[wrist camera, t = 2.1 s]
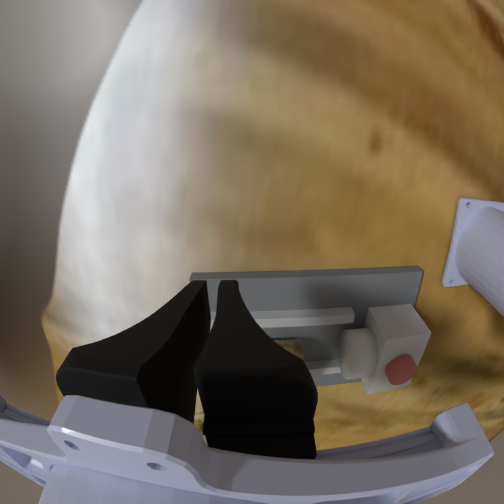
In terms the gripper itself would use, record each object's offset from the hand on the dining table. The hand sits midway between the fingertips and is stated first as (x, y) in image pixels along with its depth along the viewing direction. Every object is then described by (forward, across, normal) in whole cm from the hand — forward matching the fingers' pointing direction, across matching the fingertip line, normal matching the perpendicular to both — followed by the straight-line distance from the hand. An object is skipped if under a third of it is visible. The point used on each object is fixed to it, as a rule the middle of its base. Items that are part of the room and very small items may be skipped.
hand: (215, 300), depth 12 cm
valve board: (+8, -6, +9) cm, 14 cm away
